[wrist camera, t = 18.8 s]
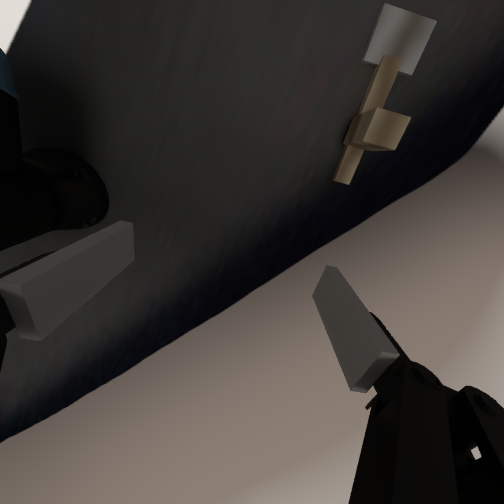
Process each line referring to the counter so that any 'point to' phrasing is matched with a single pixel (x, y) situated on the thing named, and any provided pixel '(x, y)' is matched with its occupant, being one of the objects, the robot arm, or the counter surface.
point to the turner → (384, 85)
